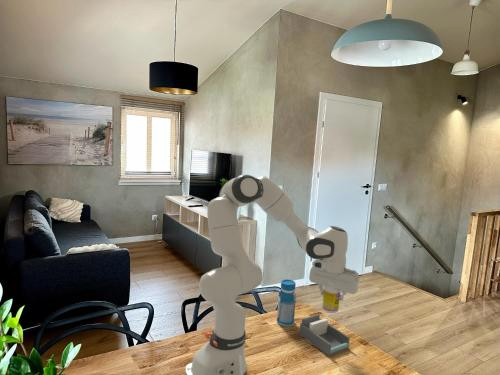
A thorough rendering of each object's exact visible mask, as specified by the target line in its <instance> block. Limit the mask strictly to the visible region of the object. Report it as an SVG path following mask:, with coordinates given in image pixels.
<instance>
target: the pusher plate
mask: <svg viewBox="0 0 500 375" xmlns="http://www.w3.org/2000/svg"><path fill="white" fill-rule="evenodd" d="M321 319H322V318H321ZM328 324H329V320H328V319H327V318H323V319H322V320H319V321H315V322H312V323H310V327H309V329H310V330H312V331H313V332H315V333H316V334H318V335H322V334H325V333H327V327H328Z"/></svg>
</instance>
